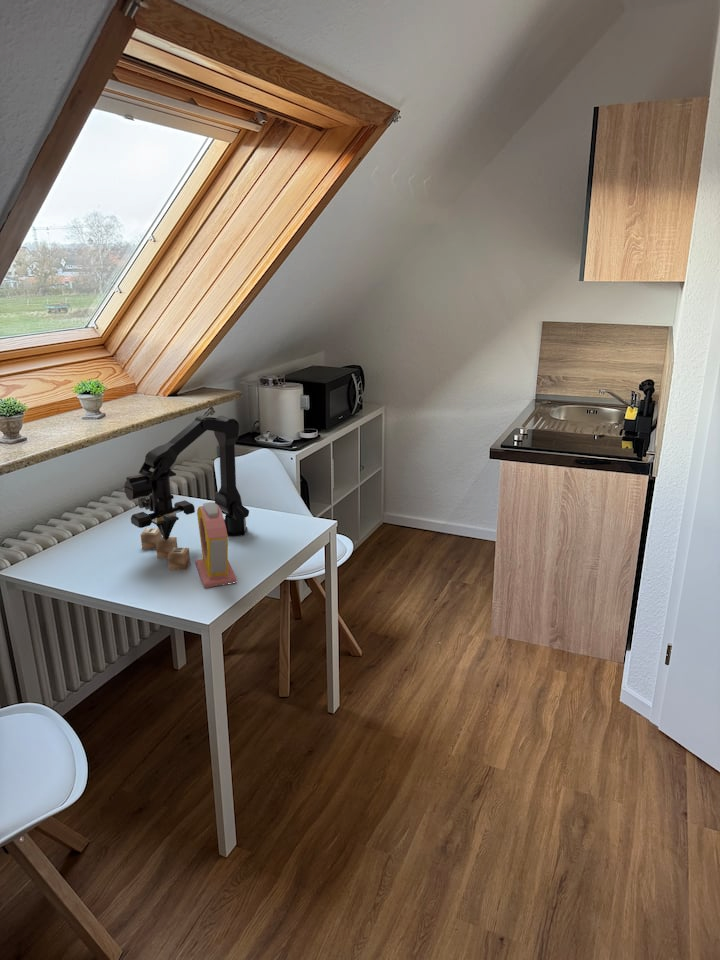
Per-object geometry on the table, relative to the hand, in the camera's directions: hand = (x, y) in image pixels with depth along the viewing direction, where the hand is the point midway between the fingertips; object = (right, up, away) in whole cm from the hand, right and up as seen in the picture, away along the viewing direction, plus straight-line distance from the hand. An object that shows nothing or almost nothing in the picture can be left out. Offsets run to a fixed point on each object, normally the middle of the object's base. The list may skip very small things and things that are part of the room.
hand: (166, 539), depth 214 cm
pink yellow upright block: (+18, -9, -11) cm, 23 cm away
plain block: (0, -5, +2) cm, 5 cm away
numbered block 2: (+6, -8, -6) cm, 11 cm away
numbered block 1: (-7, -3, +8) cm, 11 cm away
